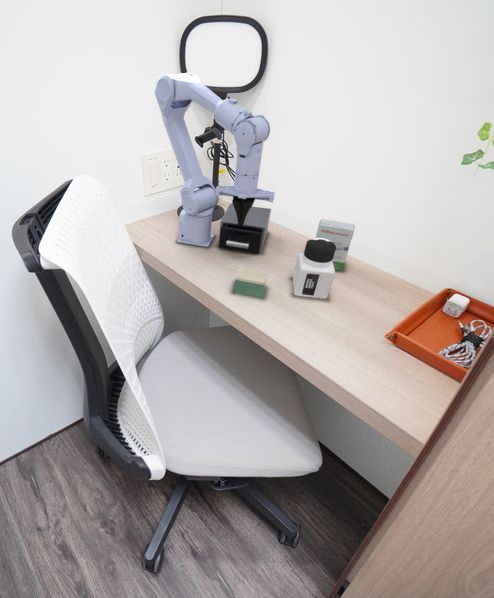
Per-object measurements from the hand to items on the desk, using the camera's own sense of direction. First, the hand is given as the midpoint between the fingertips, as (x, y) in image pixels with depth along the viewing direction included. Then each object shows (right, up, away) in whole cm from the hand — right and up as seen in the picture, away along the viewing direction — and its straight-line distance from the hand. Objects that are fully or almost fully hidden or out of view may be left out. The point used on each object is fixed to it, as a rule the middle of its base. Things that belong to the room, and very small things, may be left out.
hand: (241, 224), depth 95 cm
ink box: (+24, -10, +4) cm, 26 cm away
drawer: (+2, -4, +10) cm, 11 cm away
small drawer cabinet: (+3, -2, +15) cm, 15 cm away
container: (+16, -17, -6) cm, 24 cm away
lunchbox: (+1, -18, -6) cm, 19 cm away
